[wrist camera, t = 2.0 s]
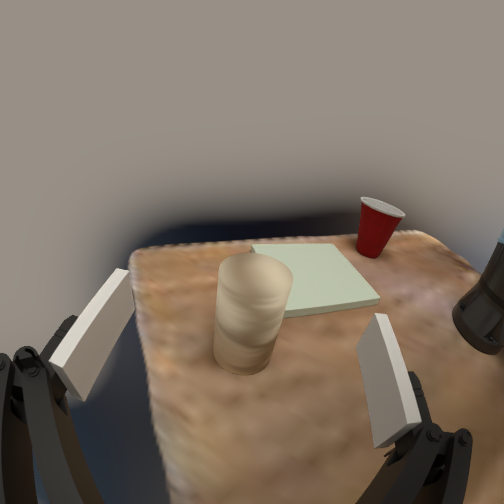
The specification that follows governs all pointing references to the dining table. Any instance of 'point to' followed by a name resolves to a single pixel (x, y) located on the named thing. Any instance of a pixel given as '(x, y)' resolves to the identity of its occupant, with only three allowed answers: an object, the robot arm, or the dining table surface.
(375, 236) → the plastic cup
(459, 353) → the dining table surface
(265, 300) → the birch roller
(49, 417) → the robot arm
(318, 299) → the board
